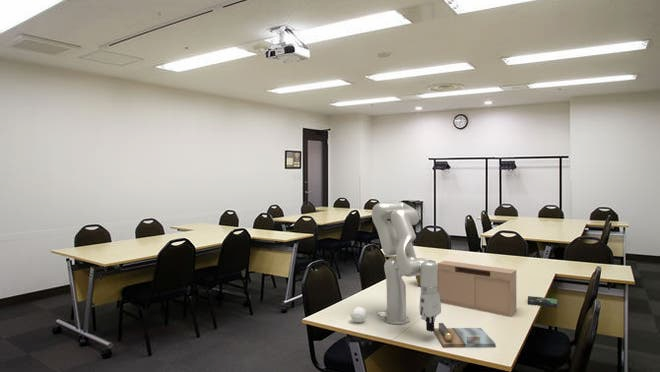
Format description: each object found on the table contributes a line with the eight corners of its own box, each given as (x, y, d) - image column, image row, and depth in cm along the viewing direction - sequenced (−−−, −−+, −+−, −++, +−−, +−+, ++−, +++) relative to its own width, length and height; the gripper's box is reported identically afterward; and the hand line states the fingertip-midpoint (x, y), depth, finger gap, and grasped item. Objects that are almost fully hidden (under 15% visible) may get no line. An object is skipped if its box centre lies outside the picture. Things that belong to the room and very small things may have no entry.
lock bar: (452, 341, 177) (452, 334, 177) (445, 342, 177) (445, 334, 177) (443, 329, 192) (443, 322, 191) (437, 329, 192) (437, 322, 192)
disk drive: (527, 305, 231) (558, 308, 224) (527, 300, 231) (558, 303, 224) (527, 300, 240) (556, 303, 234) (527, 295, 240) (556, 298, 234)
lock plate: (443, 347, 176) (443, 337, 176) (433, 331, 194) (433, 321, 194) (495, 347, 175) (495, 336, 175) (480, 331, 193) (480, 321, 193)
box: (510, 317, 211) (510, 273, 210) (437, 302, 237) (436, 263, 236) (516, 312, 218) (516, 270, 218) (444, 298, 244) (444, 260, 244)
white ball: (357, 318, 213) (357, 303, 213) (369, 321, 208) (369, 306, 208) (347, 322, 207) (347, 307, 206) (360, 326, 202) (360, 310, 202)
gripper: (425, 294, 178) (426, 337, 178) (446, 288, 187) (447, 328, 188) (411, 291, 184) (412, 332, 184) (432, 285, 193) (433, 324, 193)
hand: (430, 330), depth 186 cm, fingers closed
